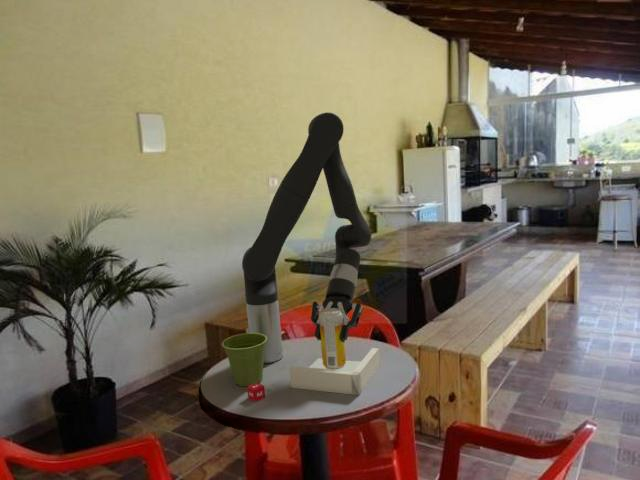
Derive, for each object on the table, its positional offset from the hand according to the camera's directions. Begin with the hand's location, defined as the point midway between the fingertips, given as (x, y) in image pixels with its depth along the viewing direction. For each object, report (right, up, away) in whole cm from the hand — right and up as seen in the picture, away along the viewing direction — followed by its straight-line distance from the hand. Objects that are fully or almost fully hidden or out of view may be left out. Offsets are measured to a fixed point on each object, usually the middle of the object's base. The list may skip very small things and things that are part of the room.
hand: (330, 339), depth 130 cm
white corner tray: (+2, -10, +2) cm, 10 cm away
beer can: (+1, -8, +3) cm, 8 cm away
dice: (-18, -13, -7) cm, 23 cm away
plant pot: (-21, -12, +3) cm, 25 cm away
